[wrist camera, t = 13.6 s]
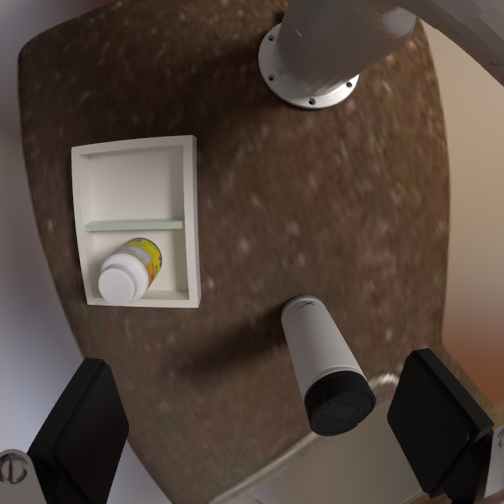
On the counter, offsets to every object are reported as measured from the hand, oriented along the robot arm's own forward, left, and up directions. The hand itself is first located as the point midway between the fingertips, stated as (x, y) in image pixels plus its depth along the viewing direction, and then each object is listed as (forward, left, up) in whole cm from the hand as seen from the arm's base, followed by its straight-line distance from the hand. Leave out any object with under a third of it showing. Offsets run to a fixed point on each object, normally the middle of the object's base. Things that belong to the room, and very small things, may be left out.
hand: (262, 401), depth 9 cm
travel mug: (+13, +8, -31) cm, 34 cm away
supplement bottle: (+5, -13, -30) cm, 33 cm away
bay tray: (0, -13, -30) cm, 33 cm away
